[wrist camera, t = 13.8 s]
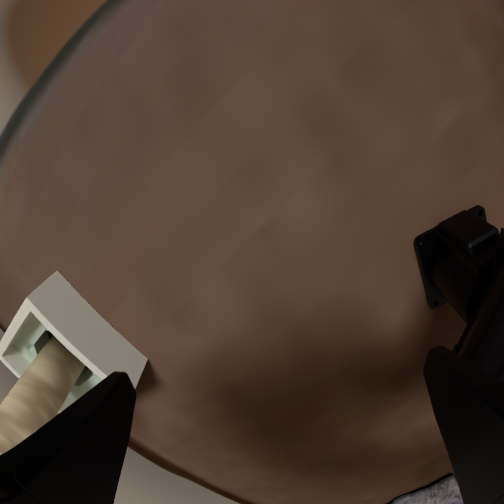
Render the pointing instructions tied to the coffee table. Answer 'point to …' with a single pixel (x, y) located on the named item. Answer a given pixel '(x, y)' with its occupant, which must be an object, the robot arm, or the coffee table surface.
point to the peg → (38, 393)
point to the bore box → (68, 337)
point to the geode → (434, 494)
